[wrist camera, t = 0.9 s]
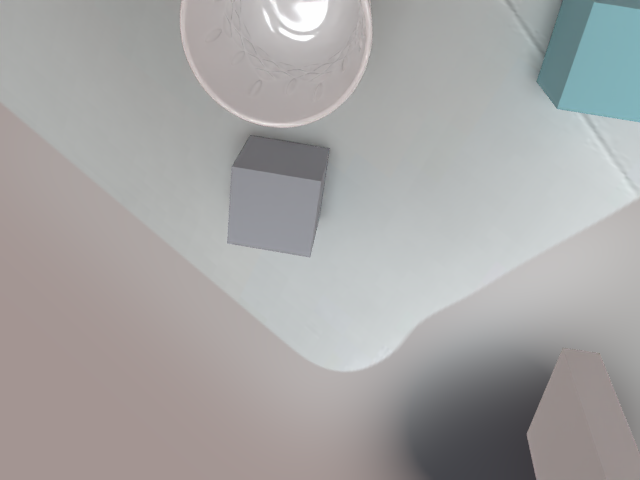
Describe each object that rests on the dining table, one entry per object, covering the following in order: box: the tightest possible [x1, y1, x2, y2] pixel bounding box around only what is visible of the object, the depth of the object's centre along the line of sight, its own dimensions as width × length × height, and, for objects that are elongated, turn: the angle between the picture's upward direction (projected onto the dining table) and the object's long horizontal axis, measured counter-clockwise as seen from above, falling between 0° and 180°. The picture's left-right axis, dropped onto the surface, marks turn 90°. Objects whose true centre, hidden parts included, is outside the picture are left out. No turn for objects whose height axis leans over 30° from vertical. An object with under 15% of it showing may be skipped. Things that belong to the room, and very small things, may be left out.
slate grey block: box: [227, 135, 330, 257], centre depth 36 cm, size 5×5×5 cm
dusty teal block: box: [537, 0, 640, 122], centre depth 30 cm, size 5×5×5 cm
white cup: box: [180, 0, 372, 128], centre depth 28 cm, size 8×8×10 cm
